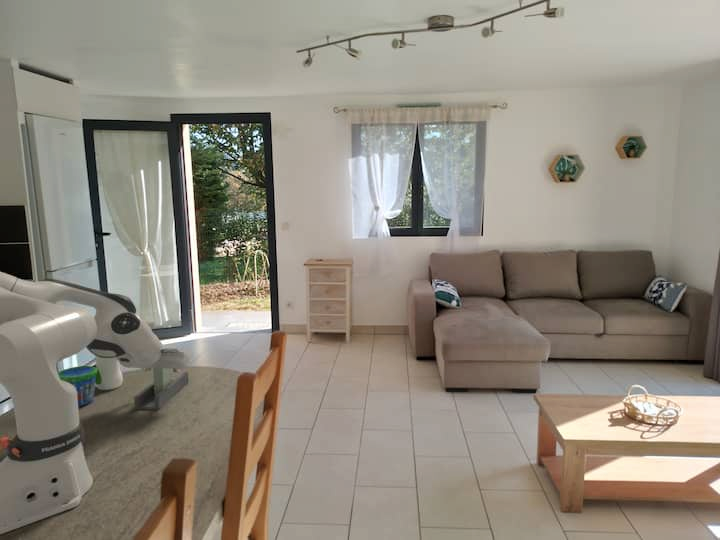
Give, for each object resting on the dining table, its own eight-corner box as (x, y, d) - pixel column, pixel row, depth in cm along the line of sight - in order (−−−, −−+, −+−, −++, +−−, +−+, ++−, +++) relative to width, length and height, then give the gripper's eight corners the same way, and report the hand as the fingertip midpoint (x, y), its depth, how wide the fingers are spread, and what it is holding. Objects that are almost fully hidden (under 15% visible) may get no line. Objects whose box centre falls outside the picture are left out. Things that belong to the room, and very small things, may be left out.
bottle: (98, 383, 164) (92, 297, 159) (124, 380, 166) (119, 296, 162) (93, 392, 156) (86, 302, 152) (120, 389, 158) (114, 300, 154)
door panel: (163, 396, 151) (162, 365, 150) (154, 395, 151) (152, 365, 150) (172, 388, 157) (170, 359, 156) (163, 388, 157) (161, 359, 156)
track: (159, 409, 143) (158, 397, 143) (135, 409, 143) (134, 397, 143) (188, 382, 165) (188, 371, 164) (167, 381, 165) (167, 371, 165)
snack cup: (90, 390, 157) (88, 361, 156) (113, 396, 153) (111, 365, 151) (43, 409, 143) (40, 377, 141) (67, 415, 139) (64, 382, 137)
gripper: (183, 341, 144) (197, 361, 155) (117, 339, 145) (135, 360, 156) (178, 360, 140) (192, 379, 151) (110, 358, 141) (129, 378, 152)
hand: (163, 369), depth 154 cm, fingers open, 8 cm apart
